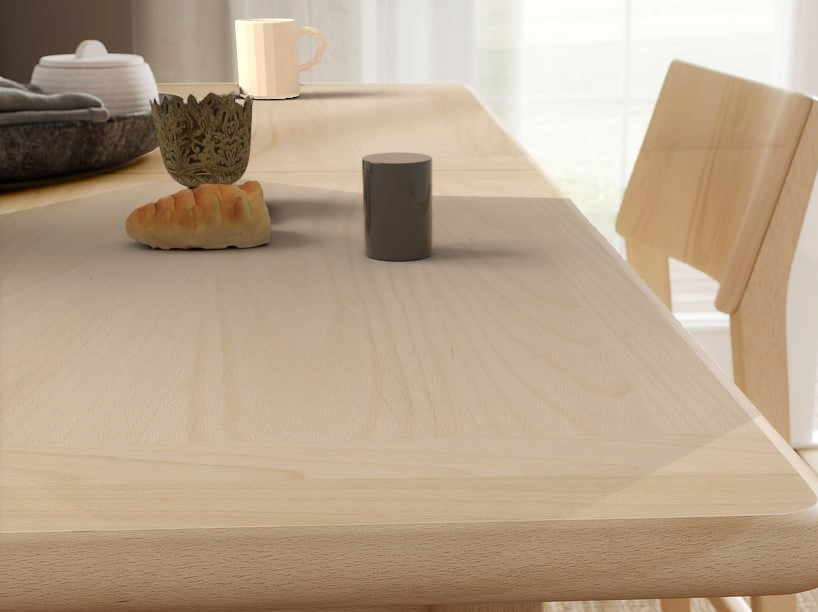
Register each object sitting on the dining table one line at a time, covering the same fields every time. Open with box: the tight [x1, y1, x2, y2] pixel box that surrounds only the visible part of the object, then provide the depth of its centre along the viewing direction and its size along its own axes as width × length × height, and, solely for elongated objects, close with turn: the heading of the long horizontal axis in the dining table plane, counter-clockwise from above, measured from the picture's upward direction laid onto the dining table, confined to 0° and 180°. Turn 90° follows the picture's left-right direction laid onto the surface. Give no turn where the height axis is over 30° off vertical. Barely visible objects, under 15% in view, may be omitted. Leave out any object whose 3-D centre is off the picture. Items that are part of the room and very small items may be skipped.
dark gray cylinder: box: [361, 151, 434, 262], centre depth 74 cm, size 4×4×6 cm
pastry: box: [125, 180, 272, 251], centre depth 77 cm, size 9×7×4 cm
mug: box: [234, 18, 328, 96], centre depth 158 cm, size 8×12×10 cm
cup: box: [149, 91, 254, 189], centre depth 88 cm, size 8×7×8 cm
